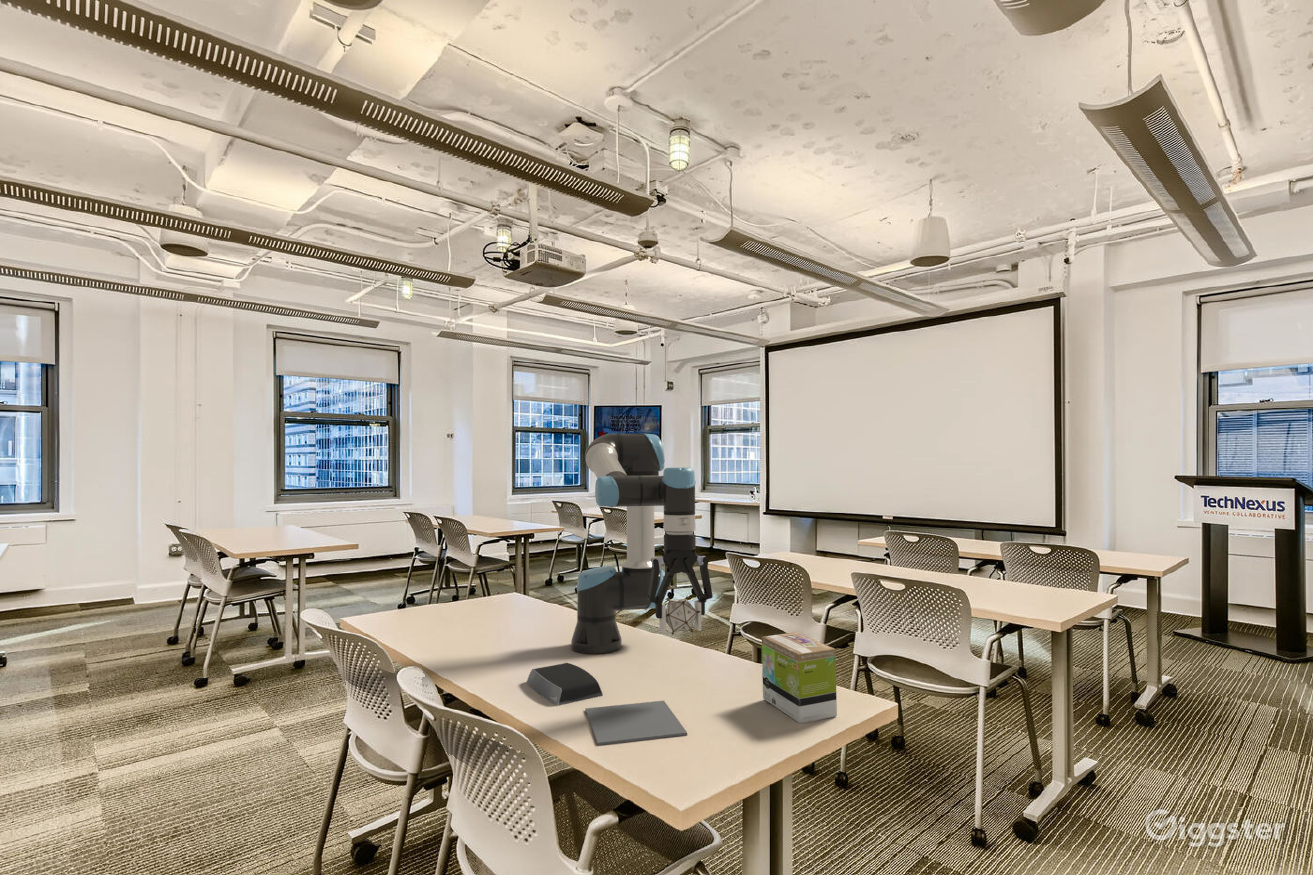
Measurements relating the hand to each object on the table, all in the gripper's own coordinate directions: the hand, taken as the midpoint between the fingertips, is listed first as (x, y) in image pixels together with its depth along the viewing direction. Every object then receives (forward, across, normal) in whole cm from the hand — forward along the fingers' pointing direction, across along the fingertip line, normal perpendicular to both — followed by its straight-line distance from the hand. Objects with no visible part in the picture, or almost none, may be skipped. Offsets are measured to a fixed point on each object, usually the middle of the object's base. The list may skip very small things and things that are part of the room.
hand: (680, 630), depth 143 cm
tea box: (+16, +23, -13) cm, 31 cm away
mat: (+16, -14, -10) cm, 23 cm away
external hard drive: (+16, -25, +15) cm, 34 cm away
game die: (+1, 0, 0) cm, 1 cm away
